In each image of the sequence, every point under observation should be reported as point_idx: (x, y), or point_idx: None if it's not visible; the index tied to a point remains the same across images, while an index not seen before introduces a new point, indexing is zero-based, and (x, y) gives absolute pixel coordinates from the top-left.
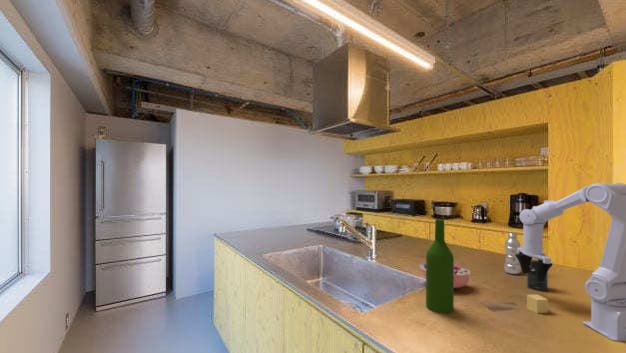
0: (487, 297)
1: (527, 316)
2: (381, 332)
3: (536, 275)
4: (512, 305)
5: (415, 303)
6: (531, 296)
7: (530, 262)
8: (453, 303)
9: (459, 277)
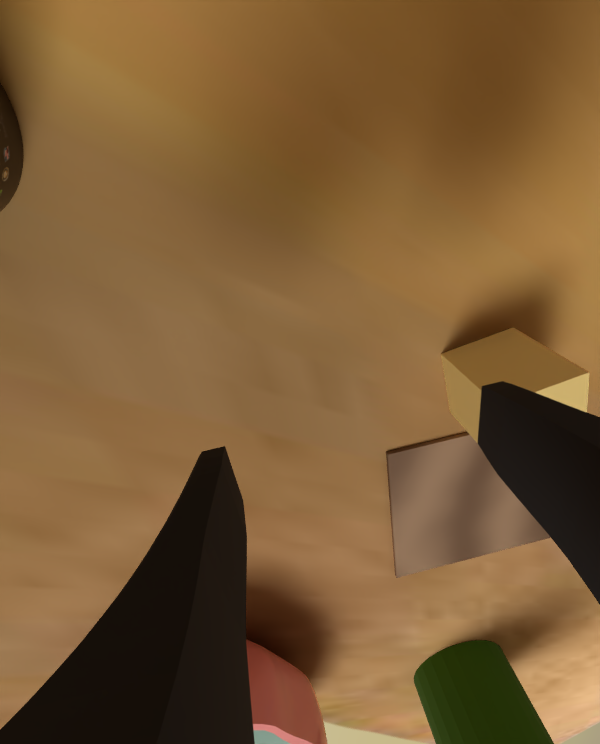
0: (328, 546)
1: None
2: (579, 722)
3: (524, 493)
4: (425, 471)
5: None
6: None
7: (195, 583)
8: (495, 672)
9: (320, 734)
